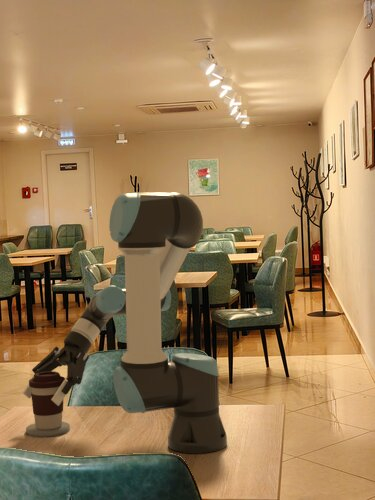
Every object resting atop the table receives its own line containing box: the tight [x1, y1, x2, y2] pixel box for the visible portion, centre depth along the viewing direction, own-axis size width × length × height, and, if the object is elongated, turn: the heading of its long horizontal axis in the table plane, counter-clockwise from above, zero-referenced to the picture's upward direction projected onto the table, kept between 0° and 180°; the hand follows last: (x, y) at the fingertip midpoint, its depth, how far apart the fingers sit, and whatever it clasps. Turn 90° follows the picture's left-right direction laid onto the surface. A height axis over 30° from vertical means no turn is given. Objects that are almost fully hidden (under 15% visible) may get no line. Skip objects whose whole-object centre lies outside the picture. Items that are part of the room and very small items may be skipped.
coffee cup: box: [28, 370, 66, 430], centre depth 204 cm, size 10×10×15 cm
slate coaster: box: [25, 421, 71, 439], centre depth 204 cm, size 12×12×1 cm
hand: (40, 399), depth 202 cm, fingers open, 13 cm apart
